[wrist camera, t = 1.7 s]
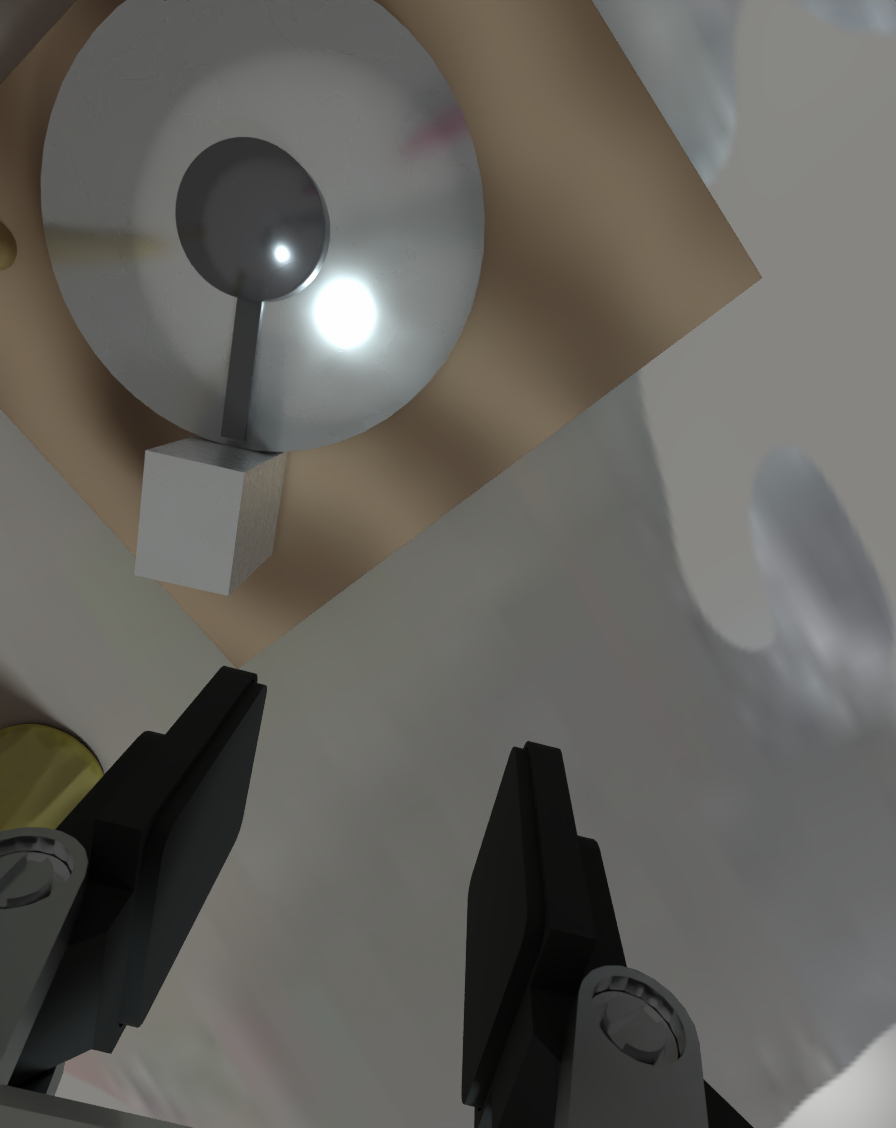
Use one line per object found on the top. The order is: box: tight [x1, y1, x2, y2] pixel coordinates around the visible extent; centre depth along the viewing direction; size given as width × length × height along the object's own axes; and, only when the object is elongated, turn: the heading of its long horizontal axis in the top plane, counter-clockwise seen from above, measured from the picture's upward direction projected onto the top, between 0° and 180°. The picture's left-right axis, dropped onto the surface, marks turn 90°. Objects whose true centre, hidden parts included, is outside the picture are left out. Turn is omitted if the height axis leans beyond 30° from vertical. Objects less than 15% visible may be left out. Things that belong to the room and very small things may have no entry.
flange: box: [41, 0, 485, 596], centre depth 22 cm, size 18×14×5 cm
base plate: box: [0, 0, 762, 669], centre depth 23 cm, size 24×20×6 cm
